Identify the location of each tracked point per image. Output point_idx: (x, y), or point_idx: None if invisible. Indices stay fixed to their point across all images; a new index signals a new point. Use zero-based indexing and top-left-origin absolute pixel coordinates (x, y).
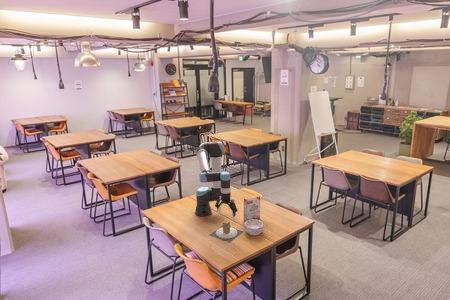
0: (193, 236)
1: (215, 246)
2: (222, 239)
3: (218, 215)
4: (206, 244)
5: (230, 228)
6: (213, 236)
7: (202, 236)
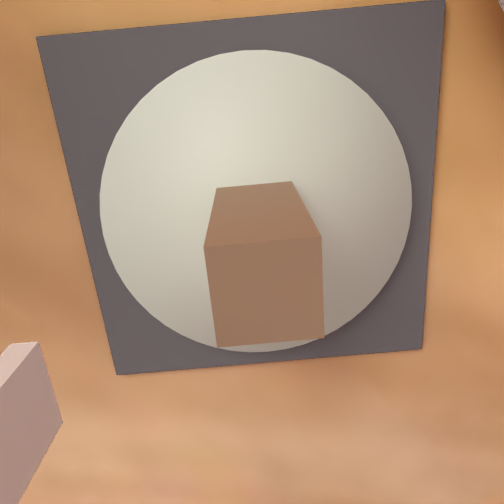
0: None
1: (329, 459)
2: (310, 347)
3: (46, 439)
4: (234, 483)
5: (229, 94)
6: (182, 364)
7: (82, 420)
